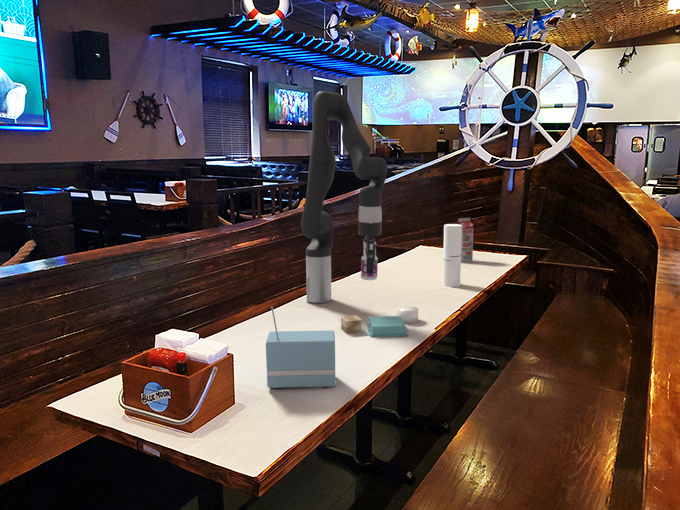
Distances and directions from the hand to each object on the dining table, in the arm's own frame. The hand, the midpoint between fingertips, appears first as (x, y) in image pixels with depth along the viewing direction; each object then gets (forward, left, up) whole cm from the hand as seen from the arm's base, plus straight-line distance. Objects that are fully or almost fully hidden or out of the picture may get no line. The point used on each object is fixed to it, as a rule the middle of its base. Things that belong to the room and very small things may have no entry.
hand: (369, 271), depth 175 cm
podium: (+4, -13, -16) cm, 21 cm away
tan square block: (-7, -12, -16) cm, 21 cm away
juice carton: (+56, +93, -16) cm, 110 cm away
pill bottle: (0, 0, -3) cm, 3 cm away
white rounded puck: (+12, -3, -16) cm, 21 cm away
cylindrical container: (+38, +44, -16) cm, 61 cm away
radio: (-21, -50, -16) cm, 57 cm away
